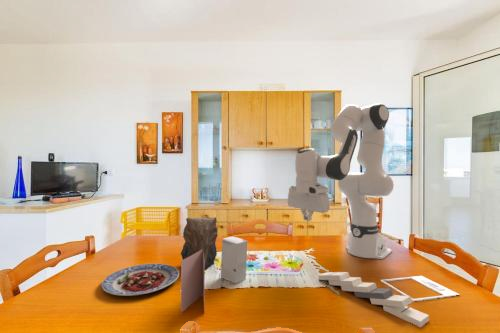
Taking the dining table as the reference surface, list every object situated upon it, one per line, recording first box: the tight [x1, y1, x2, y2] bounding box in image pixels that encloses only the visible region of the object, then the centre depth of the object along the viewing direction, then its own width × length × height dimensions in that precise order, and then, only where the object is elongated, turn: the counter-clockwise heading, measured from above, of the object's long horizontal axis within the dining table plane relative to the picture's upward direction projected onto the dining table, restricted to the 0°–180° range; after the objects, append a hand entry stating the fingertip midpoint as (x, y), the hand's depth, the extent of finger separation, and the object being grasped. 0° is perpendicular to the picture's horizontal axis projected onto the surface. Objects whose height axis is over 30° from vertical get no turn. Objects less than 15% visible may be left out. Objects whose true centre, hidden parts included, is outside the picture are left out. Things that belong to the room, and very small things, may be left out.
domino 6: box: [382, 305, 430, 328], centre depth 74 cm, size 2×5×10 cm
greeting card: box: [180, 249, 206, 313], centre depth 79 cm, size 11×7×15 cm, turn 157°
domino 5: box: [369, 294, 413, 307], centre depth 78 cm, size 2×5×10 cm
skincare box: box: [220, 236, 248, 284], centre depth 98 cm, size 8×6×15 cm
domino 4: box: [353, 287, 394, 299], centre depth 82 cm, size 2×5×10 cm
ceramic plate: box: [101, 263, 180, 297], centre depth 94 cm, size 26×26×3 cm
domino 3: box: [340, 281, 378, 292], centre depth 86 cm, size 2×5×10 cm
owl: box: [180, 216, 218, 271], centre depth 111 cm, size 13×13×20 cm
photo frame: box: [380, 275, 460, 303], centre depth 91 cm, size 15×1×18 cm
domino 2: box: [327, 276, 363, 287], centre depth 91 cm, size 2×5×10 cm
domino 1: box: [317, 271, 350, 281], centre depth 95 cm, size 2×5×10 cm
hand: (307, 220), depth 109 cm, fingers closed
